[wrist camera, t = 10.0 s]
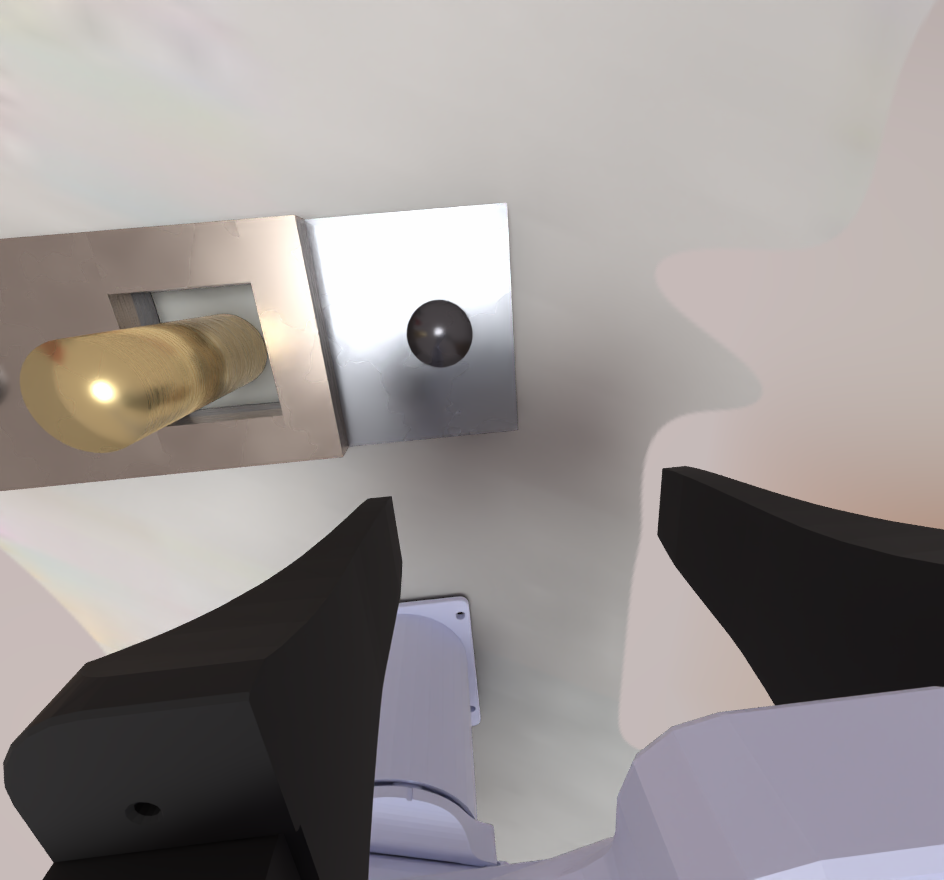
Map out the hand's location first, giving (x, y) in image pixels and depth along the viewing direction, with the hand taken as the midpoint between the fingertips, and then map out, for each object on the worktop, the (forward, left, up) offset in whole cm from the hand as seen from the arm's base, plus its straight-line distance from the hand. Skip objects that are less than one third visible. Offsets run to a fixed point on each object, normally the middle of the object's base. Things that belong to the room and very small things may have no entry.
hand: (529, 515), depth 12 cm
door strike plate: (+4, +11, -9) cm, 15 cm away
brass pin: (+4, +11, -9) cm, 15 cm away
